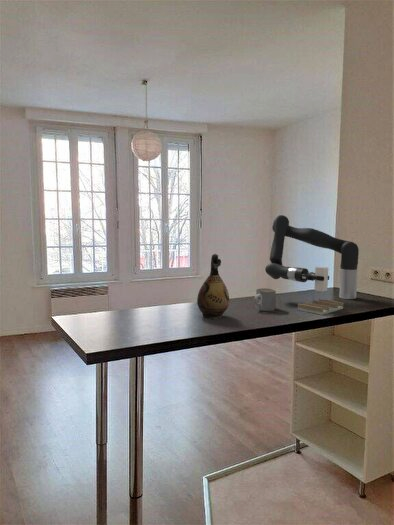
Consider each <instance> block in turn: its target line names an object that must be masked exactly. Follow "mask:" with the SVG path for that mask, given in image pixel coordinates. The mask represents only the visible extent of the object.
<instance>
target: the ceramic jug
mask: <svg viewBox="0 0 394 525" xmlns="http://www.w3.org/2000/svg"><path fill="white" fill-rule="evenodd" d="M210 260H211V261H210V274H209V275H208V276H207V277H206V278H205V280H204V281H203V283H202V284H201V286H200V289H199V291H198V294H197V300H196V304H197V307H198V309H199V311H200V312H201V313H202V318H204V319H208V318H211V319H210V320H215V319H216V318H217V319H221V318H222V316H223V315H224V313H225V312H226V311H227V310H228V308H229V305H230V296H229V293H230V292H229V290H228V289H227V286H226V284H225V283H224V281H223V279H222V277H221V276H220V274H219V270H218V268H219V267H220V266H221V264H222V261H221V259H220V258H219V255H218V254H216V253H213V254H212V255H211V259H210ZM220 317H221V318H220ZM214 318H215V319H214Z"/></svg>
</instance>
